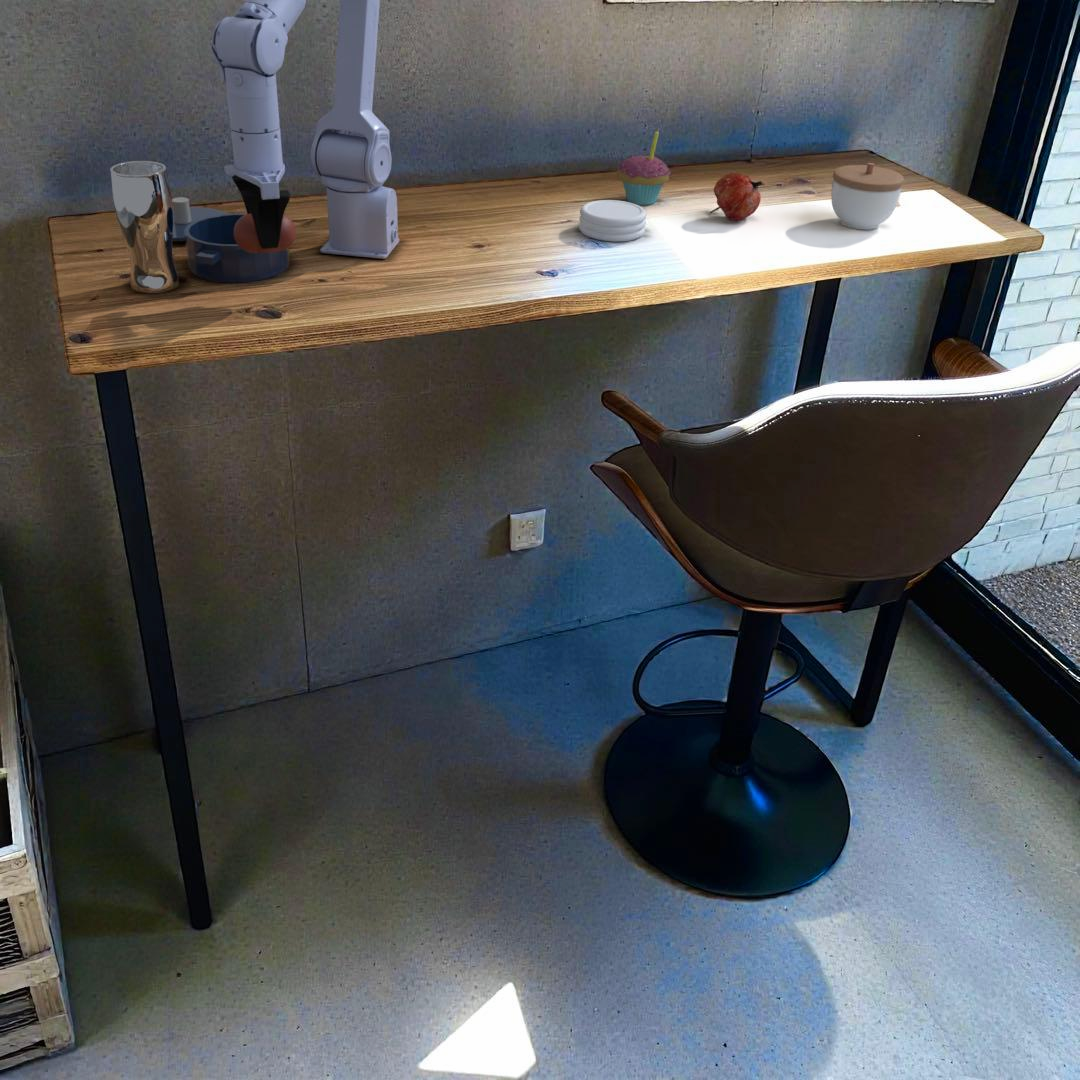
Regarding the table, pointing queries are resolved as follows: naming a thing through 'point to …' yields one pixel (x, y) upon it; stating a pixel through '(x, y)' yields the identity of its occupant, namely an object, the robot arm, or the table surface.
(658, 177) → the cupcake
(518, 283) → the table surface
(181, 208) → the pan lid
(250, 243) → the red ribbed oval
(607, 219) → the coaster
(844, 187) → the lidded sugar bowl
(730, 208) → the pomegranate
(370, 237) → the robot arm
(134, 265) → the beer glass
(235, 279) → the pan
